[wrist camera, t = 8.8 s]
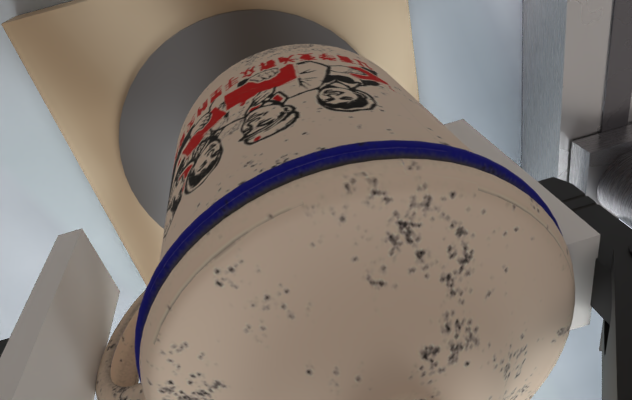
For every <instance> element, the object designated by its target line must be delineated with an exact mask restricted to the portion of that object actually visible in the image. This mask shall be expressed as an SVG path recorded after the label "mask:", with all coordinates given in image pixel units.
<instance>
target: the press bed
mask: <svg viewBox="0 0 632 400" xmlns="http://www.w3.org/2000/svg"><path fill="white" fill-rule="evenodd" d="M2 26H3V28H4V30H5V32H6V33H7V35H8V37H9V39H10V41H11V42H12V44H13V46H14V48H15V50H16V51H17V53H18V55H19V57H20V59H21V60H22V62H23V64H24V66H25V68H26V69H27V71H28V73H29V75H30V77H31V78H32V80H33V82H34V84H35V86H36V87H37V89H38V91H39V93H40V95H41V96H42V98H43V100H44V102H45V104H46V105H47V107H48V109H49V111H50V113H51V114H52V116H53V118H54V120H55V122H56V123H57V125H58V127H59V129H60V131H61V133H62V134H63V136H64V138H65V140H66V142H67V143H68V145H69V147H70V149H71V151H72V152H73V154H74V156H75V158H76V160H77V161H78V163H79V165H80V167H81V169H82V170H83V172H84V174H85V176H86V178H87V179H88V181H89V183H90V185H91V187H92V188H93V190H94V192H95V194H96V196H97V197H98V199H99V201H100V203H101V205H102V206H103V208H104V210H105V212H106V214H107V215H108V217H109V219H110V221H111V223H112V224H113V226H114V228H115V230H116V232H117V233H118V235H119V237H120V239H121V241H122V242H123V244H124V246H125V248H126V250H127V251H128V253H129V255H130V257H131V259H132V260H133V262H134V264H135V266H136V268H137V269H138V271H139V273H140V275H141V277H142V278H143V280H144V282H145V284H146V286H148V284H149V282H150V280H151V277H152V275H153V273H154V271H155V269H156V268H157V266H158V265H159V260H160V254H161V247H162V240H163V234H164V227H165V220H166V213H167V207H168V200H169V193H170V187H171V180H172V173H173V166H174V160H175V153H176V147H177V142H178V138H179V135H180V132H181V128H182V126H183V124H184V121H185V119H186V117H187V115H188V113H189V111H190V110H191V108H192V106H193V104H194V103H195V101H196V100H197V99H198V97H199V96H200V95H201V93H202V92H203V91H204V90H205V89H206V88H207V87H208V86H209V84H210V83H211V82H212V81H214V80H215V79H216V78H217V77H218V76H219V75H220V74H222V73H223V72H224V71H226V70H227V69H228V68H230V67H231V66H233V65H235V64H236V63H238V62H240V61H241V60H243V59H245V58H247V57H250V56H252V55H254V54H256V53H259V52H262V51H265V50H268V49H272V48H276V47H280V46H286V45H294V44H319V45H327V46H333V47H338V48H341V49H344V50H348V51H351V52H353V53H355V54H358V55H360V56H362V57H364V58H366V59H368V60H370V61H372V62H373V63H375V64H376V65H378V66H379V67H380V68H382V69H383V70H384V71H386V72H387V73H388V74H389V75H390V76H391V77H392V78H393V79H394V80H396V81H397V82H398V83H399V84H400V85H401V86H402V87H403V88H404V89H405V90H406V91H407V92H408V93H410V94H411V95H412V96H413V97H414V98H415V99H416V100H417V101H418V102H419V94H418V85H417V76H416V68H415V59H414V50H413V41H412V32H411V23H410V15H409V6H408V0H74V1H70V2H66V3H62V4H59V5H55V6H51V7H48V8H44V9H40V10H37V11H33V12H29V13H26V14H22V15H18V16H15V17H14V18H12V19H10V20H8V21H6V22H4V23H2Z"/></svg>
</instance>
